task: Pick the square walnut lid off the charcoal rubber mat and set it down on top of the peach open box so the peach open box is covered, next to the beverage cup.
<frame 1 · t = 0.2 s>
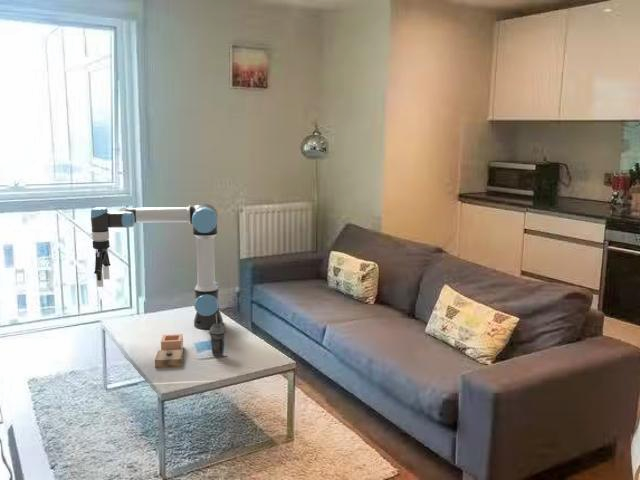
hand: (103, 282, 285), 28 cm above the table, tool pointing down, fingers open, 13 cm apart
peach open box: (172, 352, 273), on the table
beverage cup: (218, 356, 269), on the table
lid: (169, 362, 260), point 1 cm above the table, touching mat
mat: (169, 363, 260), on the table
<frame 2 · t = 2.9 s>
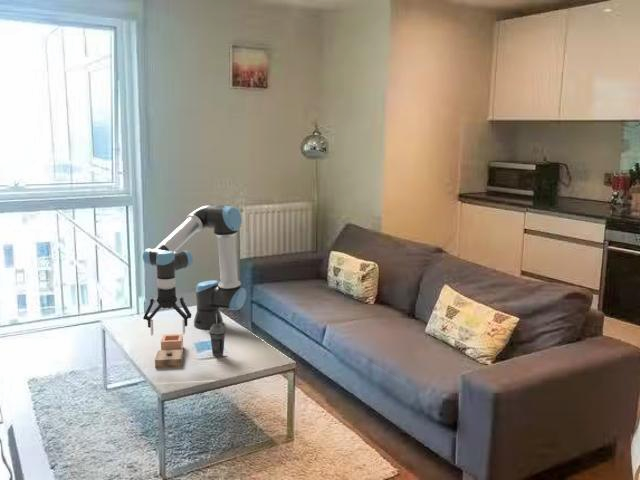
hand: (168, 333, 258), 14 cm above the table, tool pointing down, fingers open, 13 cm apart
nothing on the table moved.
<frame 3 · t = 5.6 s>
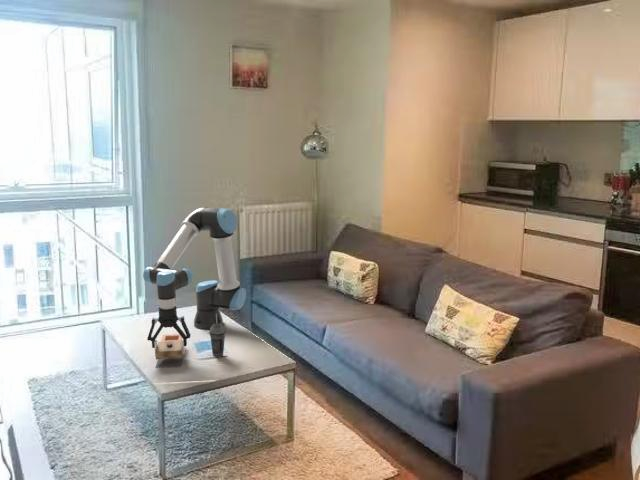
hand: (170, 353, 260), 4 cm above the table, tool pointing down, fingers closed on lid, 11 cm apart
lid: (170, 353, 260), point 4 cm above the table, touching gripper
everything else where it was.
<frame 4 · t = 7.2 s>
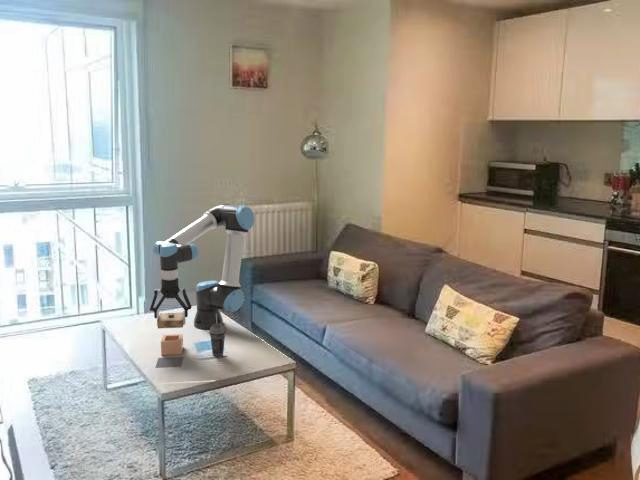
hand: (171, 324, 270), 14 cm above the table, tool pointing down, fingers closed on lid, 11 cm apart
lid: (171, 323, 270), point 14 cm above the table, touching gripper
everything else where it was.
when the fingers open (7 cm above the table, at t = 8.9 s): lid stays where it is, resting on peach open box.
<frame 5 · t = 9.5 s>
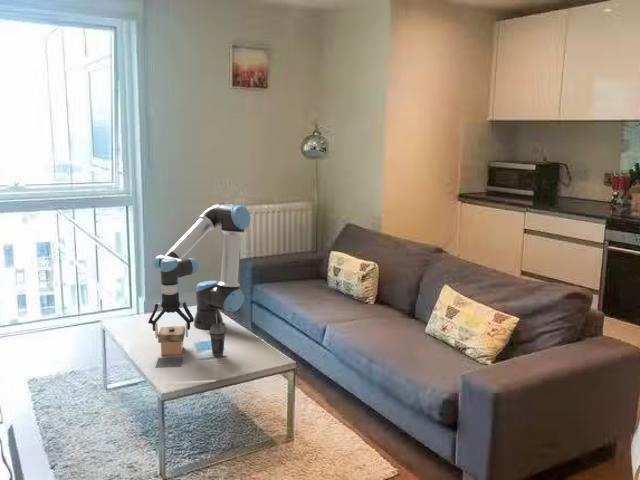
hand: (171, 336, 272), 8 cm above the table, tool pointing down, fingers open, 13 cm apart
lid: (171, 337, 272), point 7 cm above the table, touching peach open box
everything else where it was.
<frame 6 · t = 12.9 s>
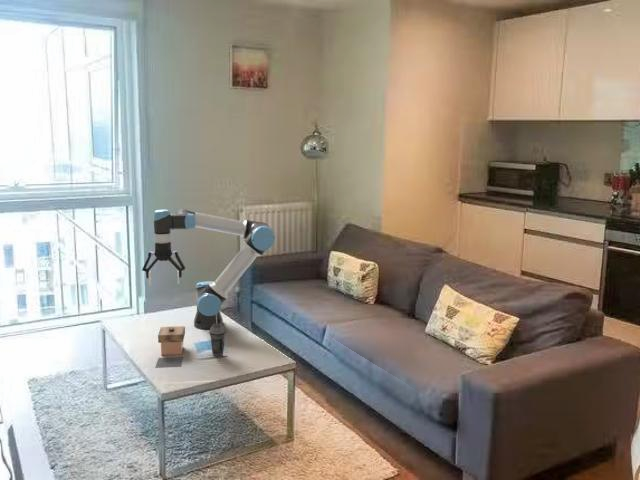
hand: (164, 284, 288), 27 cm above the table, tool pointing down, fingers open, 13 cm apart
nothing on the table moved.
at the end: lid 0.1 cm off-centre on the peach open box, point 7.0 cm above the peach open box's base; lid tilted 0°; the gripper is holding nothing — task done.
